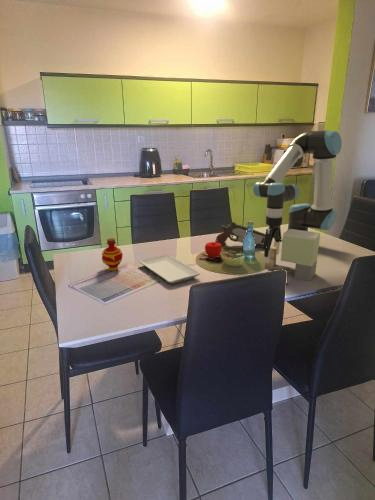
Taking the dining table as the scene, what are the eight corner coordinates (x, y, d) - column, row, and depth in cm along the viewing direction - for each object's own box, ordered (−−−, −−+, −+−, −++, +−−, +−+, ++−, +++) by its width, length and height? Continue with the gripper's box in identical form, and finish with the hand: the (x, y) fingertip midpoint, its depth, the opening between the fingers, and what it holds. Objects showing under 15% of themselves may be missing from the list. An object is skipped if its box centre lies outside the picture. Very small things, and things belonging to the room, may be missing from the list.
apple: (202, 258, 182) (202, 244, 180) (208, 253, 190) (208, 240, 187) (218, 260, 179) (219, 246, 176) (223, 255, 187) (224, 241, 184)
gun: (258, 258, 201) (268, 234, 195) (214, 243, 203) (222, 219, 198) (258, 255, 205) (267, 232, 200) (215, 240, 208) (223, 217, 202)
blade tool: (267, 265, 173) (269, 246, 170) (297, 271, 165) (299, 251, 162) (264, 267, 170) (266, 248, 166) (295, 273, 162) (297, 253, 159)
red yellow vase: (127, 266, 172) (125, 237, 167) (117, 273, 163) (114, 243, 158) (109, 263, 175) (107, 235, 170) (98, 271, 166) (95, 241, 161)
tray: (169, 288, 148) (169, 281, 146) (138, 266, 173) (137, 259, 172) (201, 280, 156) (201, 272, 155) (167, 259, 181) (167, 253, 180)
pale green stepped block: (284, 267, 169) (288, 228, 163) (315, 273, 162) (320, 233, 155) (277, 274, 161) (281, 233, 155) (309, 280, 154) (315, 238, 147)
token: (276, 279, 155) (277, 275, 155) (289, 282, 153) (289, 277, 152) (272, 284, 151) (273, 279, 150) (285, 287, 148) (285, 282, 147)
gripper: (275, 210, 174) (272, 249, 181) (256, 221, 154) (254, 264, 161) (290, 211, 170) (286, 252, 177) (273, 223, 150) (270, 267, 157)
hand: (271, 258), depth 169 cm, fingers open, 13 cm apart
